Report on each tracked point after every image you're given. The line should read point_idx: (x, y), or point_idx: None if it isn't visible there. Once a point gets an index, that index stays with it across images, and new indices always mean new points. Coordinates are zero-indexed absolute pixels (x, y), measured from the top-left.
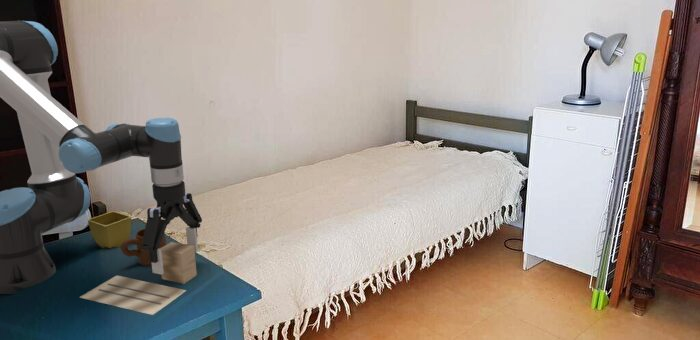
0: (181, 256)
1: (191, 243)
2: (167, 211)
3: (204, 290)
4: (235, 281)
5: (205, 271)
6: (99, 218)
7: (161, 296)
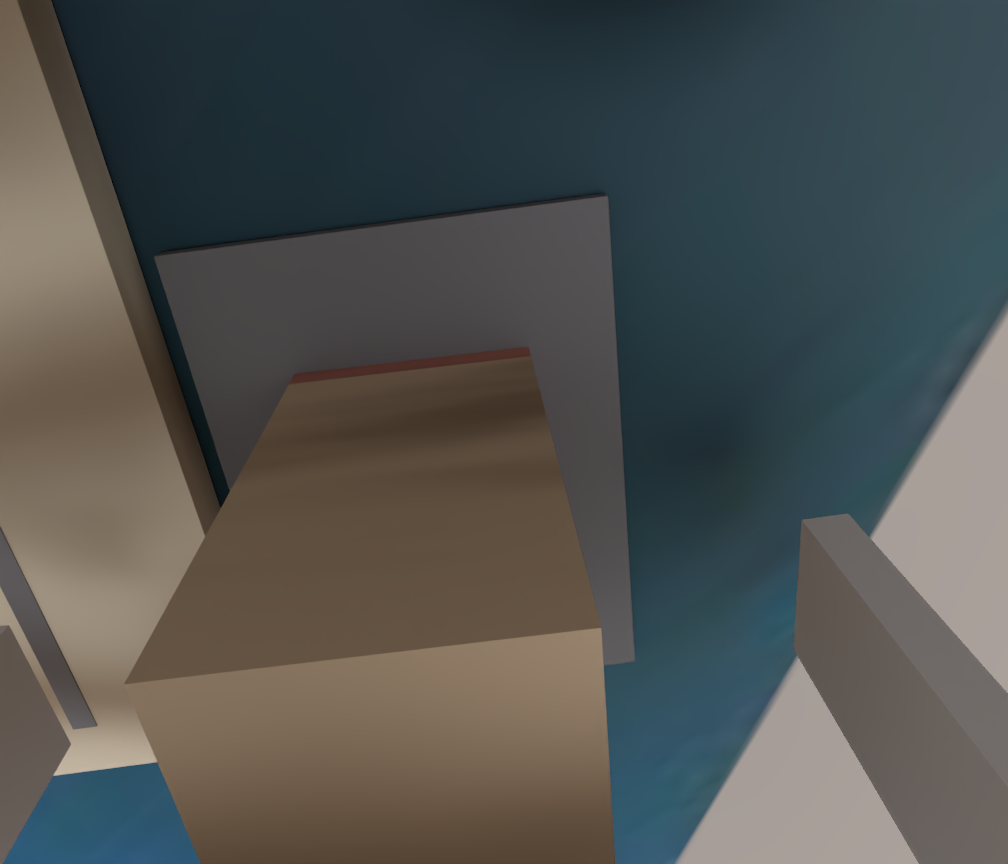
0: None
1: (864, 689)
2: None
3: None
4: (663, 835)
5: (727, 549)
6: None
7: (43, 661)
